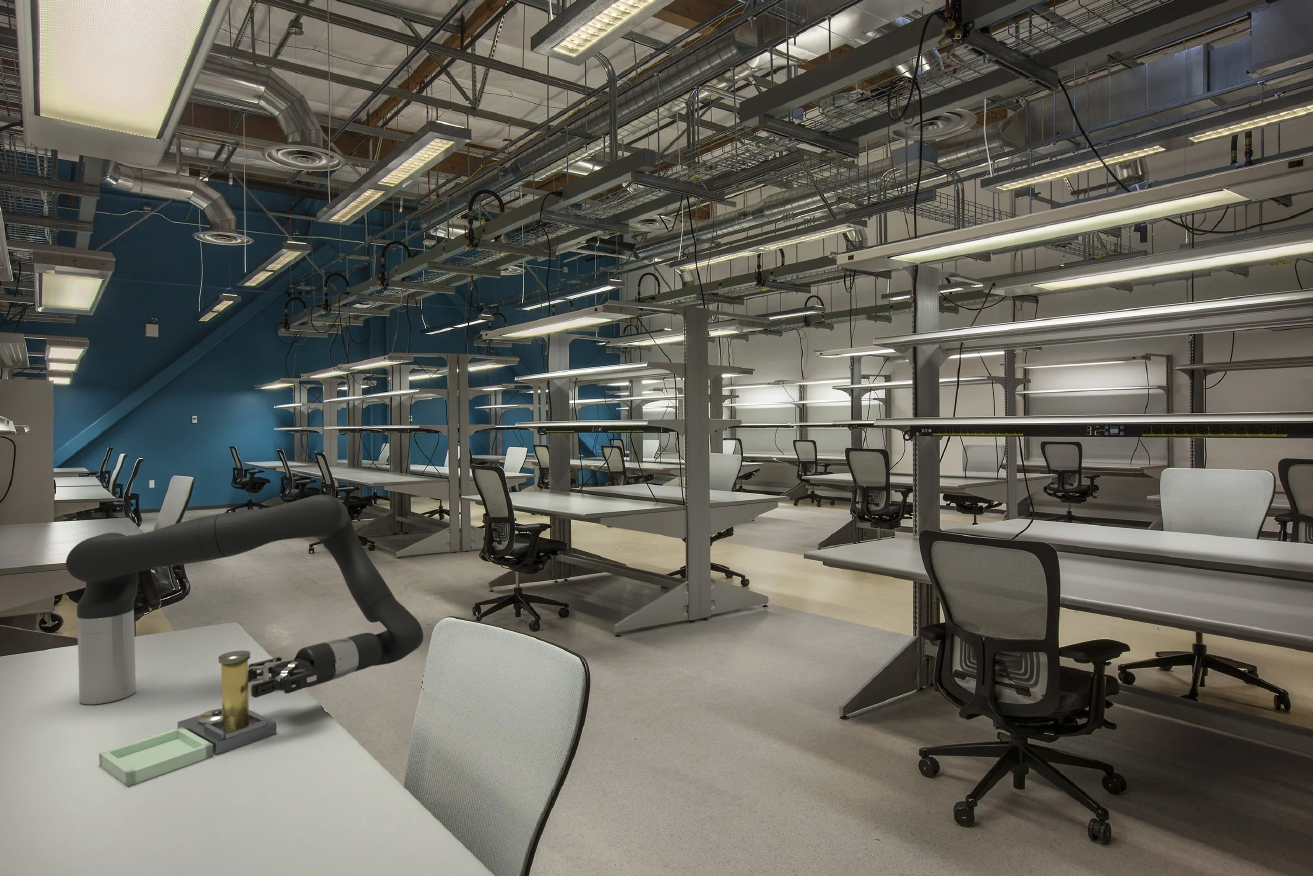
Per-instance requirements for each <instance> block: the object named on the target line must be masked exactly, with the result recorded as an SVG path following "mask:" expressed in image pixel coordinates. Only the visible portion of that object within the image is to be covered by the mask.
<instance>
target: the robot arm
mask: <svg viewBox="0 0 1313 876" xmlns="http://www.w3.org/2000/svg"><path fill="white" fill-rule="evenodd" d="M301 538H316V539H317V540H318V541H319V542H320V543H321V544H322V545H323V546H324V548H326V550H327V551H328V552H329V553H330V555H331V557H332V558H333V559H334V561H335V562H336V564H337V566H338V568H339V570H340V572H341V574H342V576H343V580H344V582H345V585H346V587H347V589H348V591H349V593H350V595H351V596H352V598H353V600H354V601H355V604H356V605H357V606H358V608H359V610H360V611H361V613H362V615H363V616H364V617H365V619H366V621H368V622H369V623H374V624H375V623H378V622H379V623H381V624H382V626H383V627H385V629H386V630H384V631H381V632H379V633H376V634H374V633H373V632H362V633H358V634H355V635H350V636H346V637H343V638H335V639H331V640H327V641H324V642H323V641H322V642H320V643H316V644H312V645H308V646H305V647H302V648H300V649H299V650H298V651H297V653H296V655H295V657H294V658H293V659H291V658H290V659H289V658H286V659H283V658H282V657H281V656H277V657H274V658H269V659H265V660H261V661H257V662H253V663H250V664H249V663H248V684H249V683H252V682H254V683H253V684H252V685H251V686H250V693H251V694H250V695H251V697H253V698H259V697H262V696H265V695H268V694H272V693H275V692H276V693H278V694H279V693H282V692H283V693H284V694H286V695H287V694H291V693H294V692H296V691H297V692H298V691H300V690H303V689H306V688H311V687H315V686H318V685H322V684H325V683H328V682H331V681H335V680H337V679H341V678H343V677H345V676H348V675H350V674H352V673H355V672H358V671H362V670H365V669H368V668H371V667H376V666H383V665H389V664H392V663H395V662H399V661H401V660H402V659H404V658H406V657H407V656H408V655H410V654H412V653H413V652H414V651H416V650H417V649H418V648H420V647H421V645H422V643H423V641H424V632H423V628H422V625H421V624H420V622H419V621H418V619H417V618H416V617H415V616H414V615H413V614H412V613H411V612H410V611H409V610H408V609H407V608H406V607H405V606H404V605H403V604H402V603H400V602H399V601H398V600H397V599H396V597H395V596H394V594H393V593H392V591H391V589H390V587H389V586H388V583H387V582H386V581H385V580H384V578H383V576H382V575H381V574H380V572H379V570H378V569H377V568H376V566H375V564H374V563H373V561H372V560H371V559H370V557H369V554H368V553H367V552H366V550H365V548H364V546H363V545H362V543H361V540H360V539H359V536H358V535H357V532H356V530H355V527H354V524H353V522H352V519H351V517H350V514H349V511H348V508H347V506H346V505H345V503H343V502H342V501H340V500H338V499H337V498H336V497H334V496H331V495H327V494H316V495H311V496H307V497H304V498H302V499H297V500H294V501H293V500H292V501H291V502H286V503H283V504H279V505H275V506H270V507H266V508H265V507H264V508H254V509H245V510H238V511H230V512H224V513H218V514H211V515H207V516H201V517H196V518H193V519H188V520H184V521H181V522H177V523H173V524H170V525H167V526H165V527H162V528H158V529H156V530H152V531H148V532H144V533H138V534H132V535H131V534H130V535H126V534H123V533H121V532H107V533H106V532H105V533H102V534H98V535H95V536H92V537H89V538H87V539H84V540H82V541H81V542H79V543H77V544H76V545H75V546H74V547H73V548H72V549H70V552H69V553H68V555H67V556H66V559H65V567H66V570H67V572H68V573H69V574H70V576H72V577H73V578H74V579H76V580H78V581H81V582H83V583H85V584H86V585H85V589H84V592H83V595H82V596H81V598H80V599H79V600H78V602H77V605H76V623H77V624H76V625H77V651H78V652H77V658H78V659H77V661H78V698H79V699H78V700H79V703H80V704H83V705H101V704H106V703H111V702H116V701H120V700H123V699H126V698H128V697H130V696H132V695H134V694H135V693H136V692H137V686H136V684H137V683H136V682H137V681H136V679H137V677H136V674H137V673H136V670H137V669H136V642H135V612H134V610H135V599H136V596H137V594H138V593H137V592H138V587H139V585H138V584H139V583H138V581H139V579H138V578H139V572H141V571H146V570H150V569H155V568H163V567H171V566H173V567H174V566H181V565H188V564H189V565H190V564H194V563H201V562H203V563H204V562H207V561H208V562H209V561H214V560H218V559H225V558H230V557H234V556H237V555H240V554H243V553H244V554H245V553H247V552H249V551H252V550H255V549H258V548H259V547H262V546H264V545H267V544H270V543H275V542H279V541H284V540H286V541H287V540H292V539H301ZM258 681H259V682H258ZM255 682H256V683H255Z"/></svg>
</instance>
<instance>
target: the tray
mask: <svg viewBox="0 0 1313 876" xmlns="http://www.w3.org/2000/svg"><path fill="white" fill-rule="evenodd" d="M98 754H99V755H98V756H99V758H98V759H99V760H98V761H99V766H100V767H101V768H103V769H104V770H105V771H106V772H108V773H110V774H111V775H112V776H114V777H115V778H116V779H117V780H119V781H120V782H122V783H123V784H124V785H125V786H127V787H130V786H134V785H136V784H140V783H141V782H146V781H147V780H150V779H154V778H156V777H158V776H161V775H164V774H166V773H167V774H168V773H169V772H172V771H175V770H176V771H177V770H178V769H180V768H184V767H186V766H189V765H193V764H195V763H197V762H200V761H201V762H202V761H204V760H206V759H210V758H212V757H214V754H213V744H211V743H209V742H208V741H206V740H204V739H202V738H200V737H199V736H197V735H195V734H193V733H191V732H190V731H188V730H186V729H184V728H183V727H180V728H178V727H177V728H174V729H172V730H171V729H170V730H169V731H164V732H161V733H158V734H155V735H152V736H149V737H146V738H143V739H139V740H136V741H133V742H130V743H127V744H124V745H121V746H118V747H115V748H111V749H107V750H105V751H101V752H99V753H98Z"/></svg>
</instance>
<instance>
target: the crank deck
mask: <svg viewBox="0 0 1313 876" xmlns="http://www.w3.org/2000/svg"><path fill="white" fill-rule="evenodd" d="M180 727H183V728H184V729H186V730H188V731H190V732H191V733H193V734H195V735H197V736H199V737H200V738H202V739H204V740H206V741H208V742H209V743H211V744H213V755H216V756H217V755H220V754H223V753H225V752H229V751H232V750H234V749H237V748H240V747H243V746H245V745H247V744H248V745H249V744H251V743H254V742H256V741H259V740H262V739H265V738H268V737H271V736H273V735H277V722H276V721H274V720H272V719H270V718H268V717H265V716H264V715H261V714H259V713H258V712H255V711H252V710H250V709H249V725H247V726H244V727H241V728H238V729H235V730H232V731H230V732H225V731H223V714H222V708H216V709H212V710H208V711H205V712H203V713H201V714H199V715H196V716H192V717H189V718H186V719H183V720H179V721H177V728H180Z"/></svg>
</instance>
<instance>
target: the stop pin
mask: <svg viewBox="0 0 1313 876" xmlns="http://www.w3.org/2000/svg"><path fill="white" fill-rule="evenodd" d="M250 658H251V651H248V650H235V651H229V652H225V653H222V654H220V655H219V656H218V663H219V664H221V701H222V702H221V704H222V705H221V706H222V714H223V731H225V732H230V731H232V730H235V729H238V728H241V727H244V726H247V725H249V710H250V709H249V707H250V705H249V700H250V699H249V683H248V665H249V660H250Z"/></svg>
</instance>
